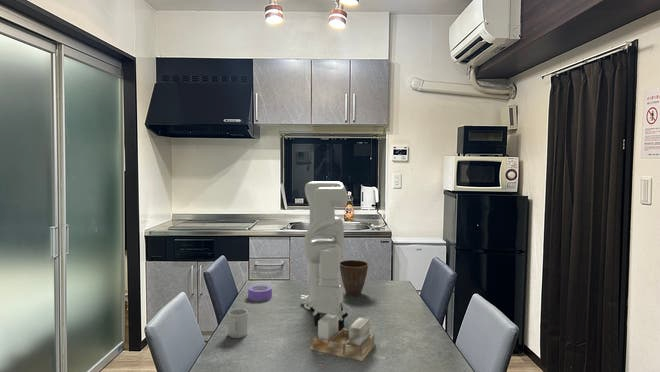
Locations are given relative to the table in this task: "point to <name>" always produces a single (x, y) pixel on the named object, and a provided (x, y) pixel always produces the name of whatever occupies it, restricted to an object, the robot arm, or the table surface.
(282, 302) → the table surface
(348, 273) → the plant pot
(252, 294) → the tape roll
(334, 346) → the rack
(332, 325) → the panel
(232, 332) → the cup
